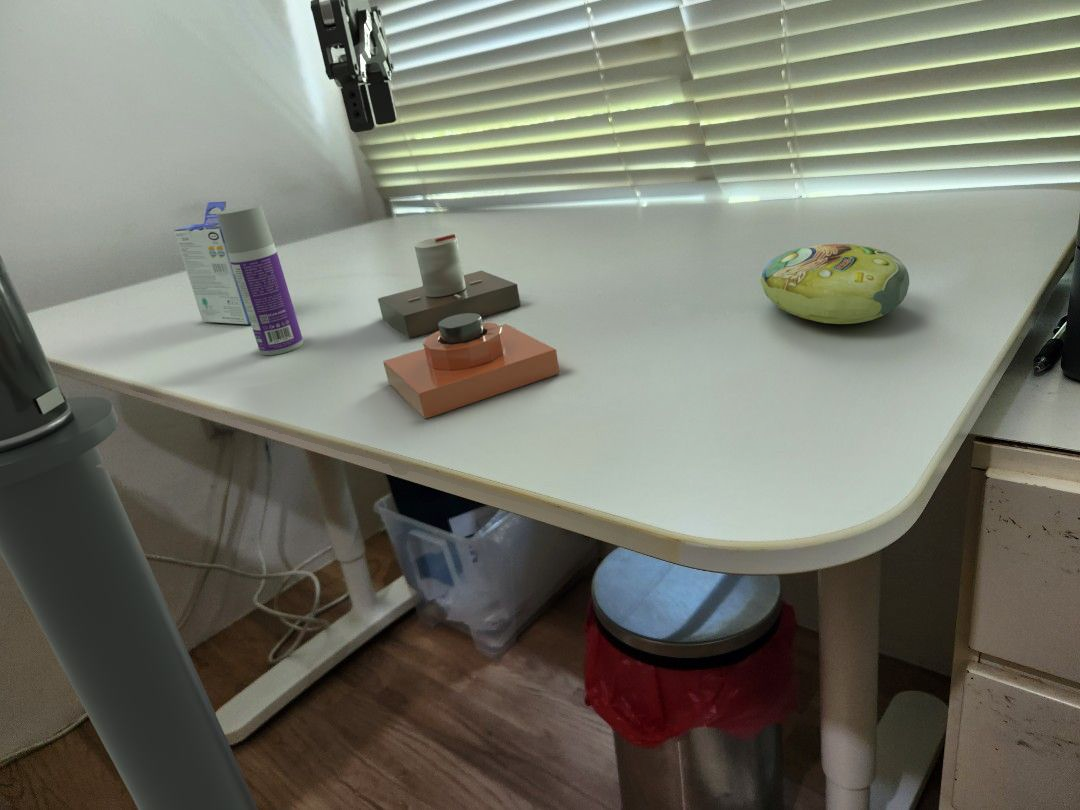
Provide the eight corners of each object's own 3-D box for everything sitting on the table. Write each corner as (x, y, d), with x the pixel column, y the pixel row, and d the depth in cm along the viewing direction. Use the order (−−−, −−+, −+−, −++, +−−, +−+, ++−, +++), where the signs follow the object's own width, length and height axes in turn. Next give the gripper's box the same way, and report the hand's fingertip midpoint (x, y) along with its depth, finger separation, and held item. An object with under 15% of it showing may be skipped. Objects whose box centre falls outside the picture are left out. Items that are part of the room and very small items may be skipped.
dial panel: (409, 338, 77) (403, 314, 76) (382, 319, 86) (377, 297, 85) (520, 305, 82) (516, 282, 81) (485, 290, 90) (481, 268, 89)
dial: (433, 299, 80) (421, 246, 78) (419, 292, 84) (408, 241, 82) (472, 289, 82) (462, 236, 79) (457, 282, 86) (447, 231, 83)
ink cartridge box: (284, 311, 96) (250, 197, 90) (249, 326, 92) (211, 207, 86) (236, 309, 101) (201, 201, 96) (201, 323, 97) (162, 211, 92)
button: (451, 350, 60) (446, 330, 60) (436, 340, 63) (432, 321, 63) (491, 338, 62) (487, 318, 61) (475, 329, 65) (471, 310, 64)
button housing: (425, 419, 58) (413, 371, 56) (388, 383, 66) (377, 341, 64) (560, 373, 62) (553, 328, 60) (509, 345, 70) (502, 305, 69)
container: (311, 338, 83) (271, 201, 77) (290, 353, 79) (246, 210, 73) (274, 341, 84) (232, 207, 78) (251, 356, 80) (205, 216, 74)
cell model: (805, 321, 57) (736, 220, 68) (811, 388, 63) (746, 284, 73) (946, 270, 56) (853, 175, 67) (939, 342, 62) (854, 244, 72)
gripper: (314, -53, 71) (358, 127, 77) (255, -79, 58) (313, 140, 64) (391, -68, 70) (428, 115, 76) (348, -98, 57) (398, 126, 63)
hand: (376, 127), depth 70 cm, fingers open, 8 cm apart
